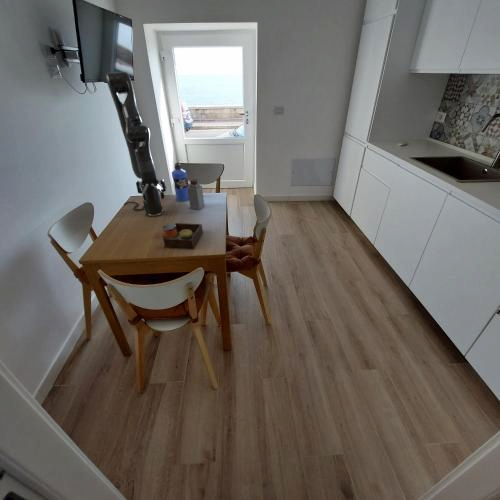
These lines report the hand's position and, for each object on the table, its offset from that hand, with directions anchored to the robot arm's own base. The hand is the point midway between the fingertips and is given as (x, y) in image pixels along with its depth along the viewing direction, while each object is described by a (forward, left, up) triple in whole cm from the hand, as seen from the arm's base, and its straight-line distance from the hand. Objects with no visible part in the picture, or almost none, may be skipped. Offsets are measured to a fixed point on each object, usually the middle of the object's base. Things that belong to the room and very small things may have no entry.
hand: (154, 199), depth 145 cm
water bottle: (-3, +44, -19) cm, 48 cm away
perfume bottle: (+11, +32, -19) cm, 38 cm away
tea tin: (+20, -13, -18) cm, 30 cm away
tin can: (+8, -6, -18) cm, 21 cm away
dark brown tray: (+17, -9, -18) cm, 26 cm away
